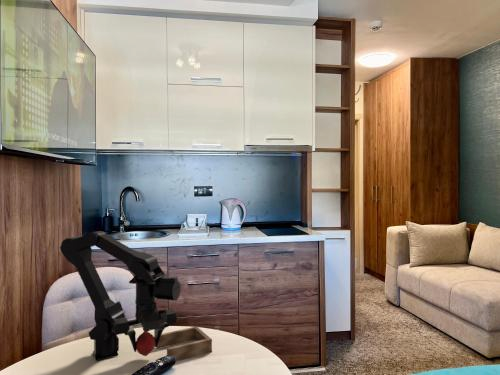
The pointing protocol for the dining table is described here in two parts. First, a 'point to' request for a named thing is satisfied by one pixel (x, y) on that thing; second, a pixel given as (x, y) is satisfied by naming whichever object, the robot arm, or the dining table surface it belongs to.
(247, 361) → the dining table surface
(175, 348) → the ball
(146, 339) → the onion
